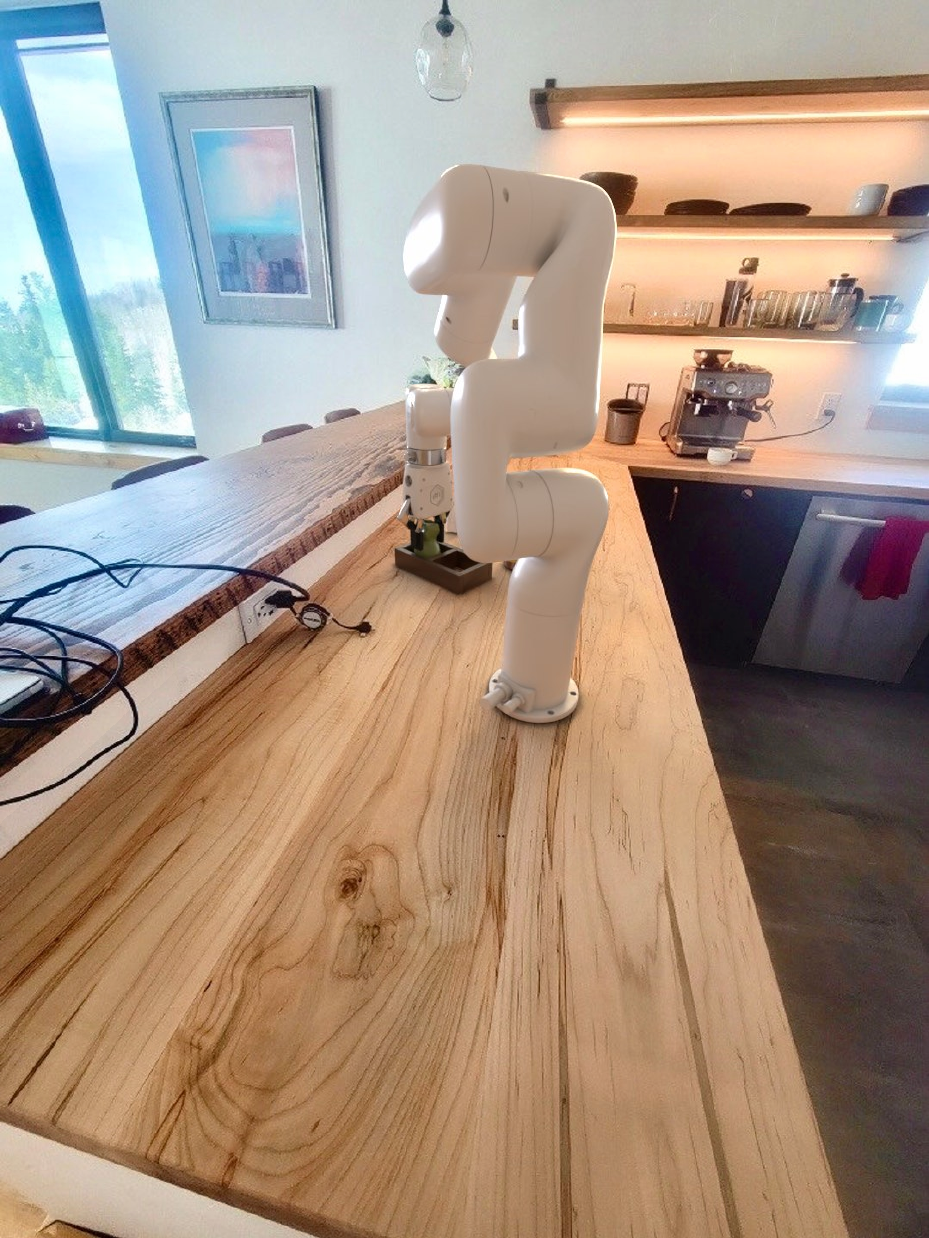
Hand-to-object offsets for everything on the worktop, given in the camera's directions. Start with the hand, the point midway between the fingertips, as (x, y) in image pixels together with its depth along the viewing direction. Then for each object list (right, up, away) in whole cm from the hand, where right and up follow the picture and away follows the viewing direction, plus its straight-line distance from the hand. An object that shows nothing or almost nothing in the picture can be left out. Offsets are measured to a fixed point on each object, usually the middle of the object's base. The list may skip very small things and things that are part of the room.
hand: (427, 544), depth 105 cm
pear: (0, -4, +3) cm, 5 cm away
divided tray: (+3, -6, 0) cm, 7 cm away
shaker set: (+9, +6, +20) cm, 23 cm away
